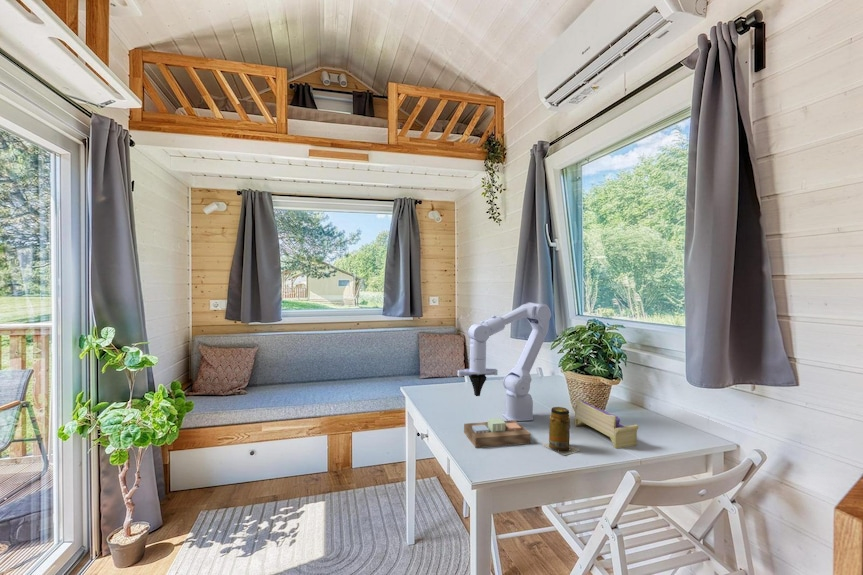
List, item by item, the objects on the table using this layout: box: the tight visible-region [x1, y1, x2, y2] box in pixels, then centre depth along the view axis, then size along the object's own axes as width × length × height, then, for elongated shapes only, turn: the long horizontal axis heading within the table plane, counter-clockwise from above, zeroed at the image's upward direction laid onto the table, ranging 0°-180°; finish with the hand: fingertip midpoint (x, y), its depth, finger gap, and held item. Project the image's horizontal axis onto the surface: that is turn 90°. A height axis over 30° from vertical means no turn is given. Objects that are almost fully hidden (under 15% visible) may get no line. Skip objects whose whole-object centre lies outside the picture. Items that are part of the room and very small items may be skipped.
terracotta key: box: [505, 423, 521, 431], centre depth 132 cm, size 4×4×3 cm
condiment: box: [543, 406, 581, 456], centre depth 124 cm, size 7×8×12 cm
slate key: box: [472, 425, 489, 433], centre depth 130 cm, size 4×4×3 cm
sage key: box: [487, 417, 506, 432], centre depth 131 cm, size 4×4×3 cm
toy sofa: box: [573, 398, 639, 449], centre depth 134 cm, size 21×9×10 cm, turn 19°
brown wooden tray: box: [463, 420, 532, 449], centre depth 131 cm, size 18×12×3 cm, turn 102°
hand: (477, 395), depth 144 cm, fingers closed
